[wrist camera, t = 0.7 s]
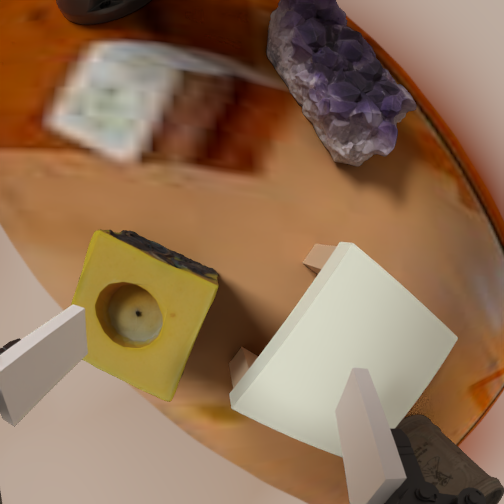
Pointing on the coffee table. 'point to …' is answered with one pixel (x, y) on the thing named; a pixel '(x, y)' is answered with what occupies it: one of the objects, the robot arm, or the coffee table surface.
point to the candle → (142, 309)
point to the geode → (336, 80)
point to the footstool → (340, 350)
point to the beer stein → (446, 461)
